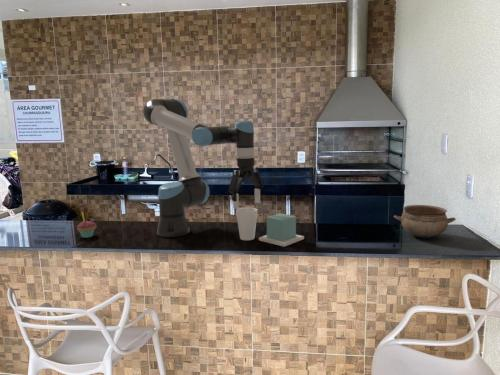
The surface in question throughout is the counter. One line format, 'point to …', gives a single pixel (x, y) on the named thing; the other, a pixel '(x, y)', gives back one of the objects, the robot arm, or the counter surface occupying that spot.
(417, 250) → the counter surface
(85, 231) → the cupcake
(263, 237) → the mat
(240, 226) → the foam cup
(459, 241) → the counter surface
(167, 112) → the robot arm
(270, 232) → the block
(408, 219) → the cooking pot
